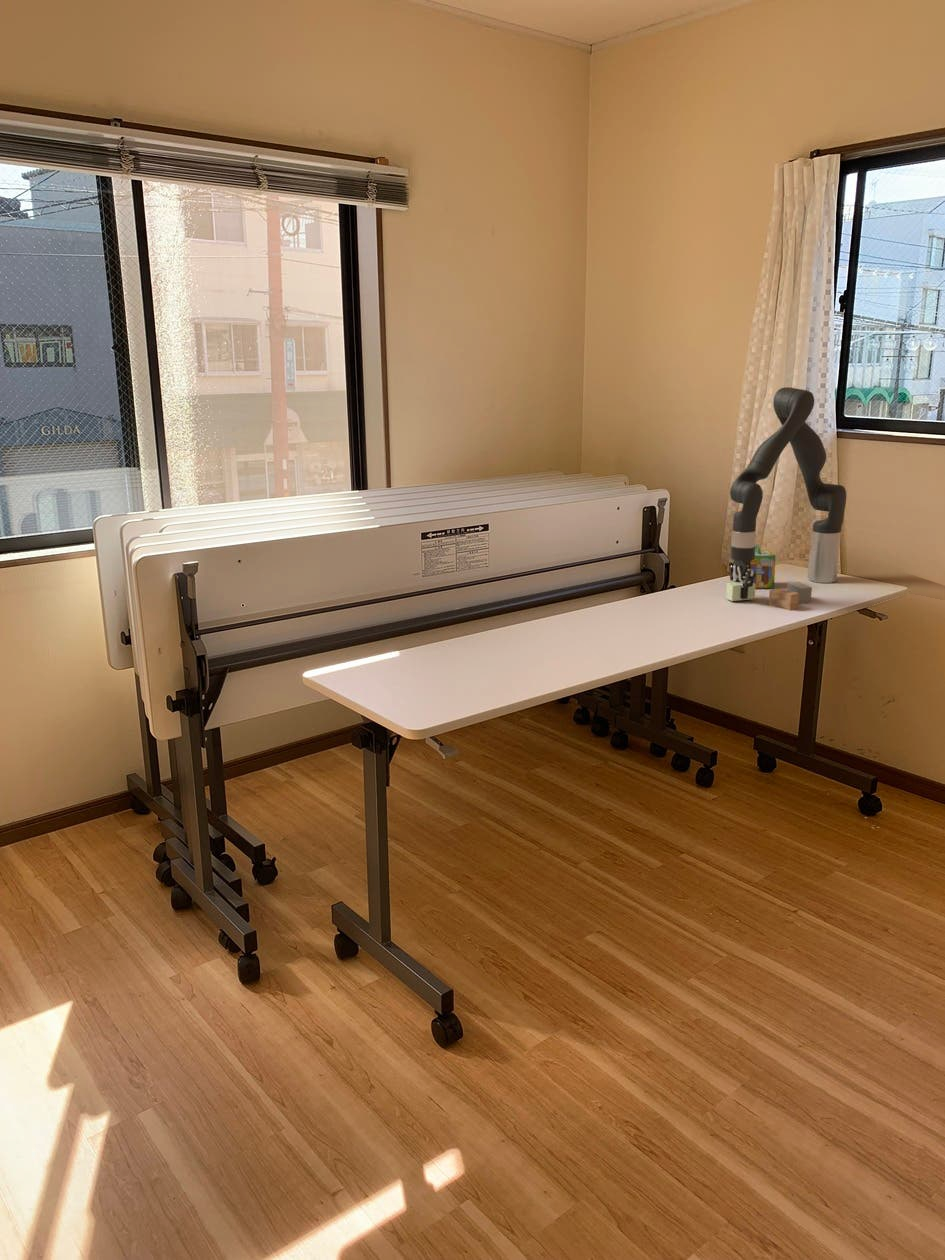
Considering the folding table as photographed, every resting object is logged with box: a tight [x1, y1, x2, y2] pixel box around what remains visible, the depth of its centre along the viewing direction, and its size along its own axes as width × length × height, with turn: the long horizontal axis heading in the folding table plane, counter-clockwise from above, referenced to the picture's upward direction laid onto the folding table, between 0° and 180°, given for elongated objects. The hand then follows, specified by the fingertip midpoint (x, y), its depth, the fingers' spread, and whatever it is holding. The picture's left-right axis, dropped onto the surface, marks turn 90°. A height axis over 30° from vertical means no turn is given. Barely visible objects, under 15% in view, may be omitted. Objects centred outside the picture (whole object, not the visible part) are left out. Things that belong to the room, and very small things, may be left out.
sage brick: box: [725, 581, 756, 602], centre depth 315 cm, size 8×4×5 cm, turn 103°
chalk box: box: [743, 542, 777, 590], centre depth 332 cm, size 9×9×15 cm
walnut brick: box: [768, 588, 799, 611], centre depth 307 cm, size 8×4×5 cm, turn 36°
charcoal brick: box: [786, 581, 813, 604], centre depth 315 cm, size 8×4×5 cm, turn 12°
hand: (740, 596), depth 316 cm, fingers closed on sage brick, 4 cm apart
